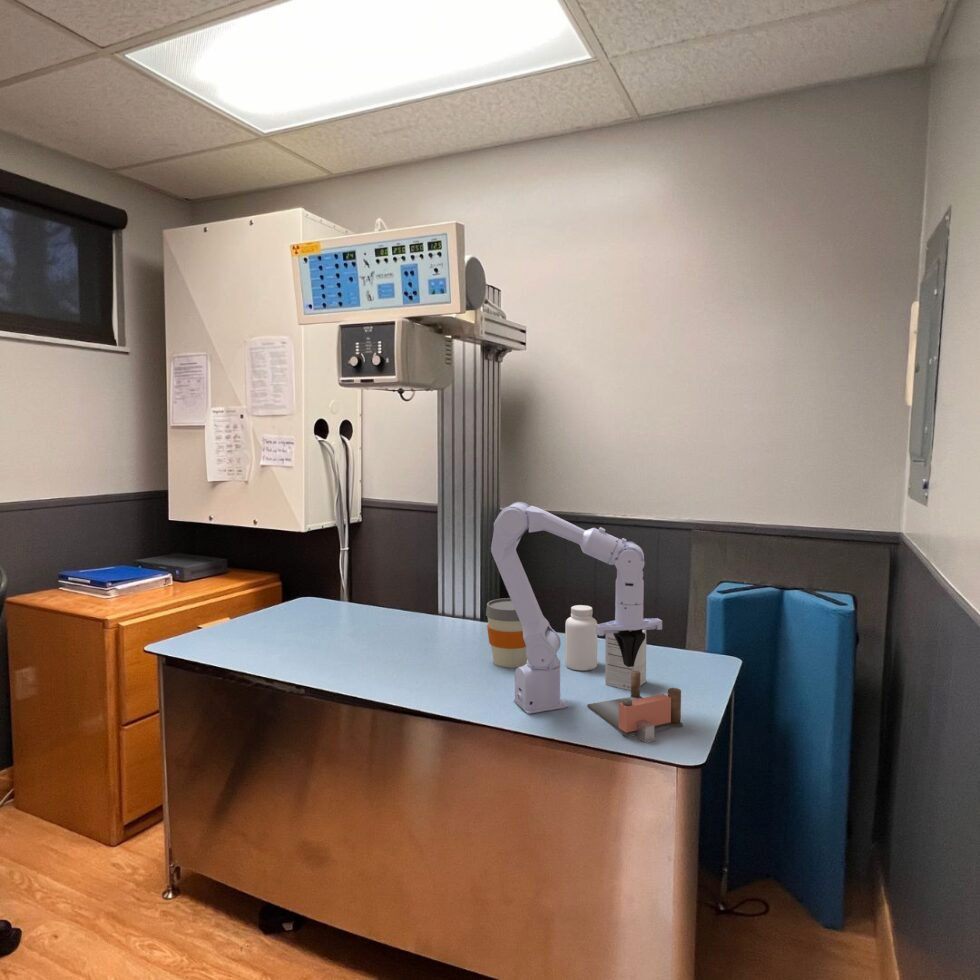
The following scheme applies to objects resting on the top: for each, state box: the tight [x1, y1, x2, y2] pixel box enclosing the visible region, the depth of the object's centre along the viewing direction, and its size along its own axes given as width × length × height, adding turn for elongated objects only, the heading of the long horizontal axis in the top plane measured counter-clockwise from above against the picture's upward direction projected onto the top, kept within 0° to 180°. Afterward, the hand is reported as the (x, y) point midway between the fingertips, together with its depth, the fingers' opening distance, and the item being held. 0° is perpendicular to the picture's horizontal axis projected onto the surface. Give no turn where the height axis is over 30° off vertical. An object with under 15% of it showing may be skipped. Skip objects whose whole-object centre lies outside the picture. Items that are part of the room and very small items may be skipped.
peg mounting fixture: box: [586, 671, 684, 738], centre depth 143 cm, size 13×16×7 cm
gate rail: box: [619, 693, 671, 733], centre depth 136 cm, size 2×11×6 cm, turn 115°
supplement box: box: [604, 630, 647, 691], centre depth 161 cm, size 7×7×13 cm
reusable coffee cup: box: [485, 597, 527, 668], centre depth 177 cm, size 13×13×15 cm
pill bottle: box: [564, 604, 598, 672], centre depth 173 cm, size 8×8×15 cm
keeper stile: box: [636, 720, 655, 744], centre depth 133 cm, size 2×3×3 cm, turn 21°
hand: (628, 665), depth 145 cm, fingers closed
